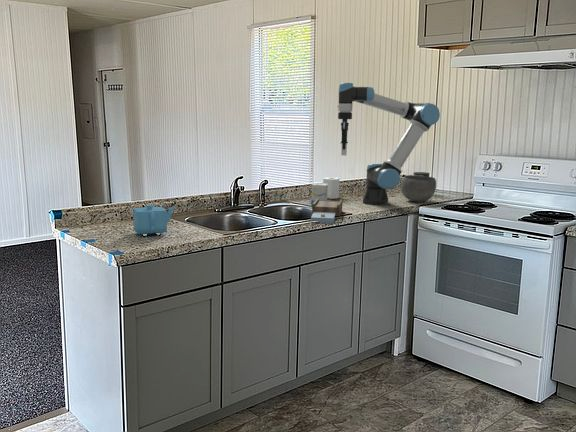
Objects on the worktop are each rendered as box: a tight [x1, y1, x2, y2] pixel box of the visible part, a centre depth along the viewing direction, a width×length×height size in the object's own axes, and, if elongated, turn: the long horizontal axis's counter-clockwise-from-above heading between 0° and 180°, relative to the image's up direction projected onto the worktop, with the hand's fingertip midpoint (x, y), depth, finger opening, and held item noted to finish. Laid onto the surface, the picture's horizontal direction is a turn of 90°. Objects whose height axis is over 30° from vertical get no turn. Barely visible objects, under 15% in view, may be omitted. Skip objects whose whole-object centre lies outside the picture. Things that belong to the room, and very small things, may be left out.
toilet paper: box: [322, 176, 341, 200], centre depth 351 cm, size 10×10×12 cm
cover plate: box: [310, 212, 336, 224], centre depth 281 cm, size 11×16×4 cm
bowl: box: [400, 174, 437, 203], centre depth 341 cm, size 20×20×15 cm
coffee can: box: [412, 171, 430, 177], centre depth 370 cm, size 10×10×14 cm
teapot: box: [132, 204, 178, 235], centre depth 244 cm, size 18×16×13 cm
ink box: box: [310, 182, 328, 206], centre depth 327 cm, size 9×8×12 cm
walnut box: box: [311, 199, 343, 216], centre depth 298 cm, size 14×18×6 cm
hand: (343, 155), depth 311 cm, fingers closed
